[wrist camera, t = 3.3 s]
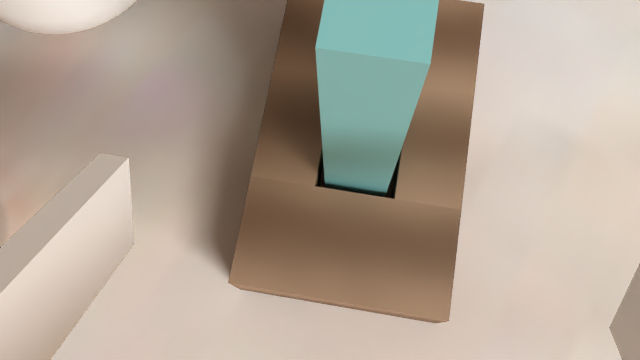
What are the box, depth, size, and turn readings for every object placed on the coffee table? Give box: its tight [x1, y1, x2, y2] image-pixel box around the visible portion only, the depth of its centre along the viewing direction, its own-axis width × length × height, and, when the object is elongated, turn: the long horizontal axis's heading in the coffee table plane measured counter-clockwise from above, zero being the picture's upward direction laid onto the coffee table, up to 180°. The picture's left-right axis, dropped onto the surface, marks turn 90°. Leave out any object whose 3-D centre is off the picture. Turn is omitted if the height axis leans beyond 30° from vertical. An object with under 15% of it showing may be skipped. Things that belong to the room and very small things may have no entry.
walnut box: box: [228, 0, 484, 323], centre depth 30 cm, size 16×10×4 cm, turn 170°
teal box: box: [315, 0, 439, 197], centre depth 24 cm, size 5×3×16 cm, turn 170°
